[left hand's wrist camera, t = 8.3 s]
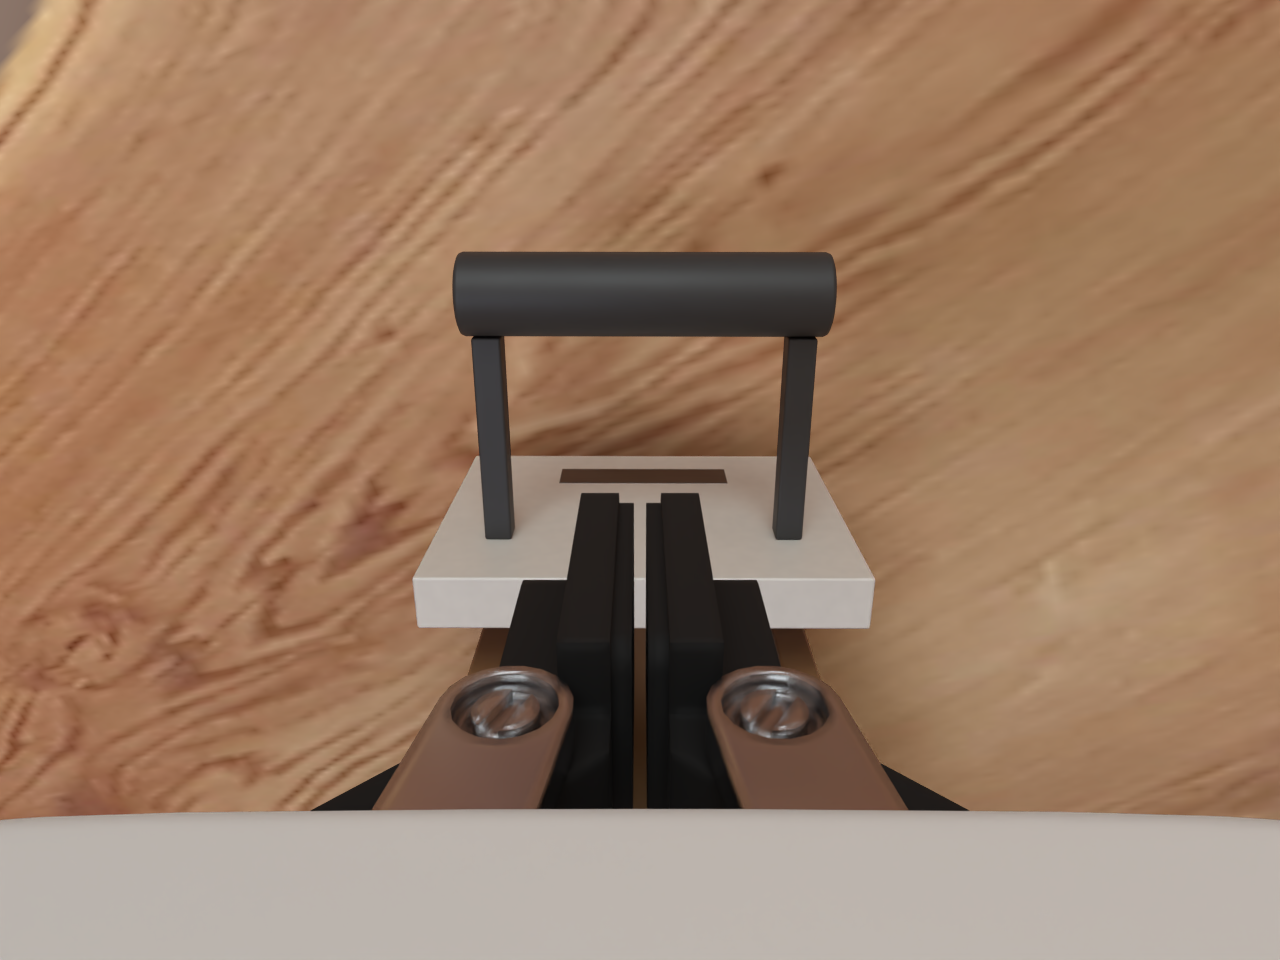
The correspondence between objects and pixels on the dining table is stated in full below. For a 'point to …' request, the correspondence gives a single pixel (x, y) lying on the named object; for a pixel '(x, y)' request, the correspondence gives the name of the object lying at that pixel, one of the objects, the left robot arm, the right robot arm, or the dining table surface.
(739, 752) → the left robot arm
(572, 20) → the dining table surface
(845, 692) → the dining table surface
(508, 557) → the drawer
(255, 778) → the dining table surface
